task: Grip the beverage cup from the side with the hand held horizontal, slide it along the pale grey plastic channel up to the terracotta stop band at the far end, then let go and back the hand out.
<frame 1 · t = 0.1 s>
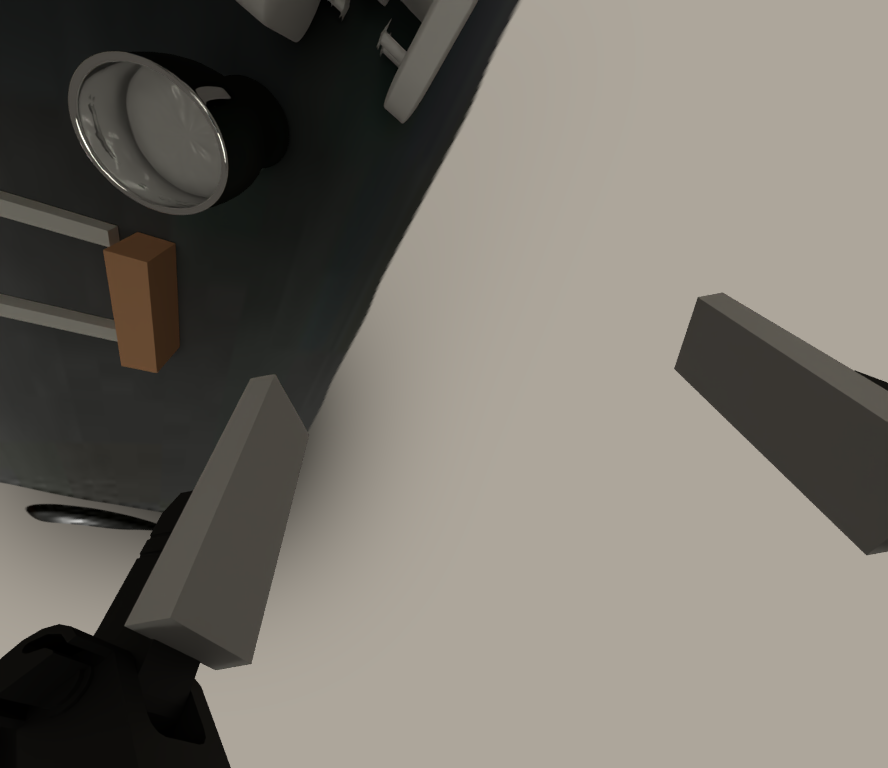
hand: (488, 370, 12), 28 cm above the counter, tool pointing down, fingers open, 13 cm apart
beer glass: (250, 124, 29), on the counter
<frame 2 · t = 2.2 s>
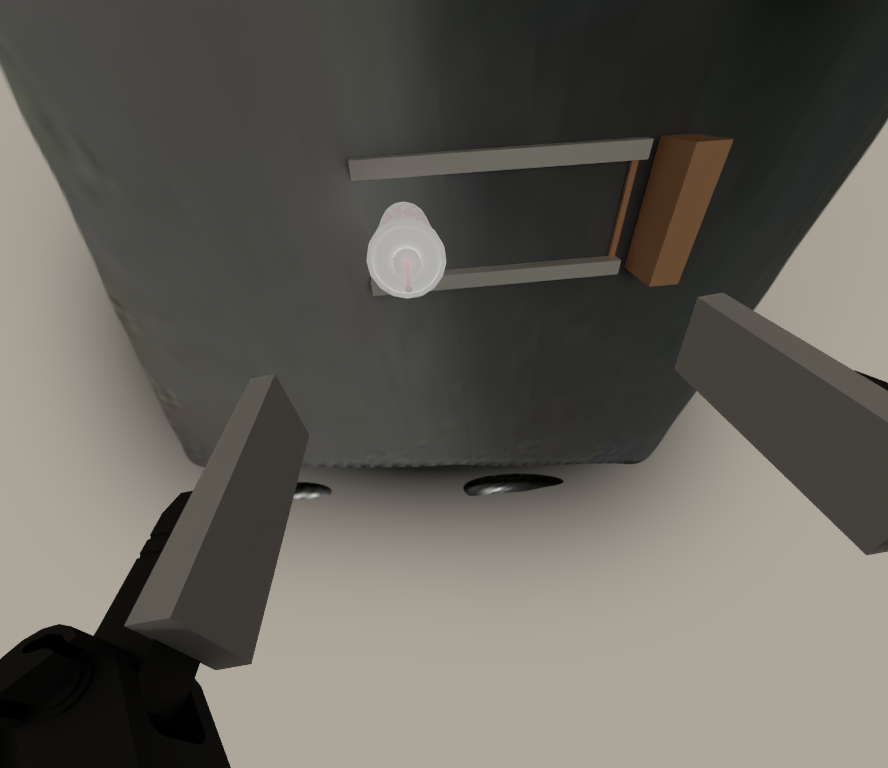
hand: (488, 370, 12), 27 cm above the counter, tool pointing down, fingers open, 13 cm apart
beverage cup: (404, 227, 35), on the counter
channel: (496, 220, 35), on the counter
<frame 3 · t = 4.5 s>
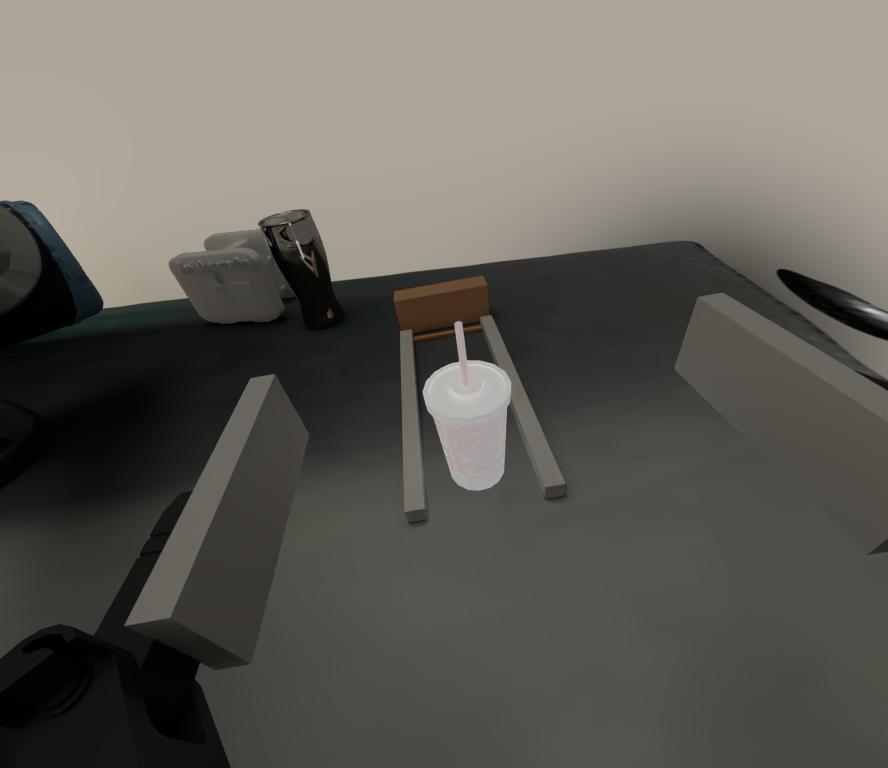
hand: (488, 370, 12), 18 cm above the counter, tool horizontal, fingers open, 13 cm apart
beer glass: (325, 320, 55), on the counter
beverage cup: (477, 468, 31), on the counter
channel: (461, 397, 37), on the counter
cable organizer: (260, 311, 62), on the counter
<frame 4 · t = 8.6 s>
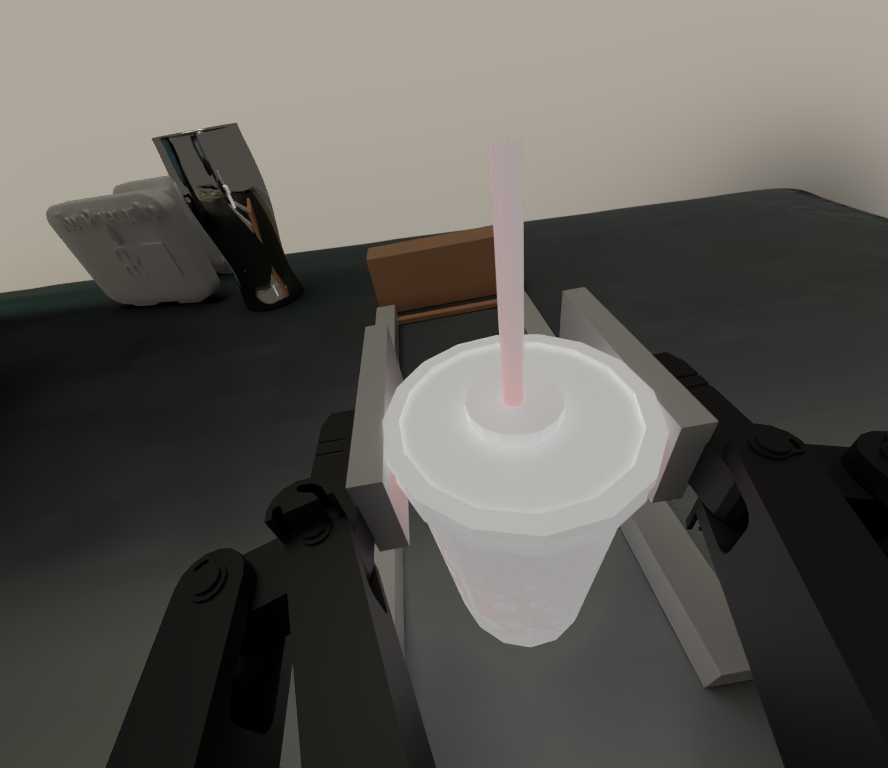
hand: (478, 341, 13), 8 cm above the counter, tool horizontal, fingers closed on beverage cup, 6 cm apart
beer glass: (276, 299, 39), on the counter
beverage cup: (518, 577, 14), on the counter, touching gripper
channel: (476, 414, 21), on the counter
cable organizer: (194, 290, 45), on the counter
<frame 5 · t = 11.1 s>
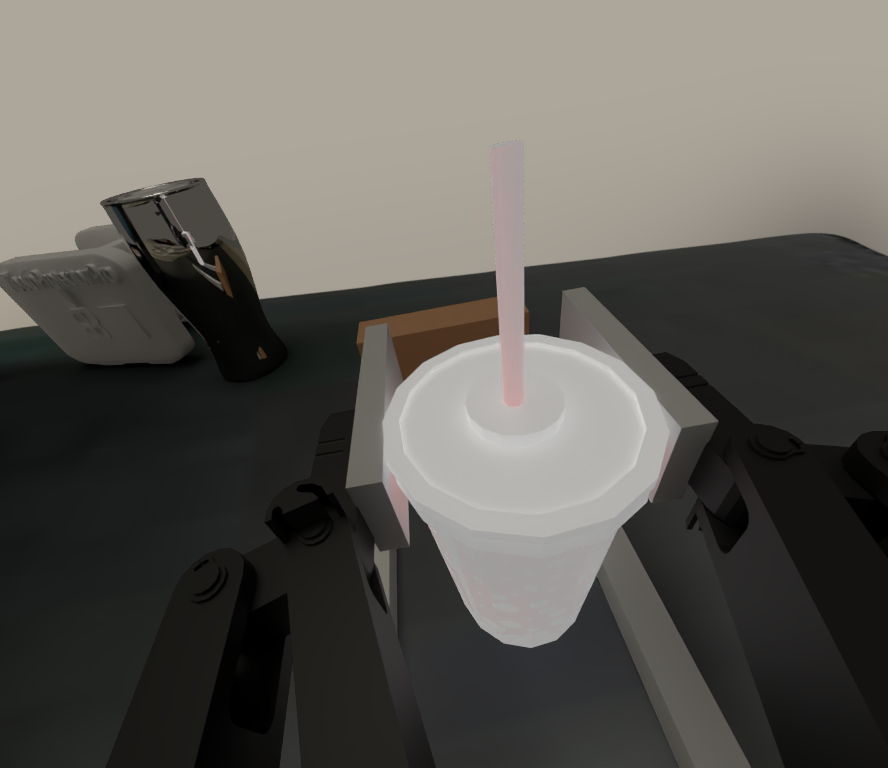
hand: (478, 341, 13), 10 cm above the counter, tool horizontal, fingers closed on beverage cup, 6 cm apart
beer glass: (257, 364, 35), on the counter
beverage cup: (519, 577, 14), point 3 cm above the counter, touching gripper
channel: (493, 579, 16), on the counter
cable organizer: (168, 344, 41), on the counter
when the fingers open (8 cm above the counter, at t = 13.8 s): beverage cup stays where it is, on the counter.
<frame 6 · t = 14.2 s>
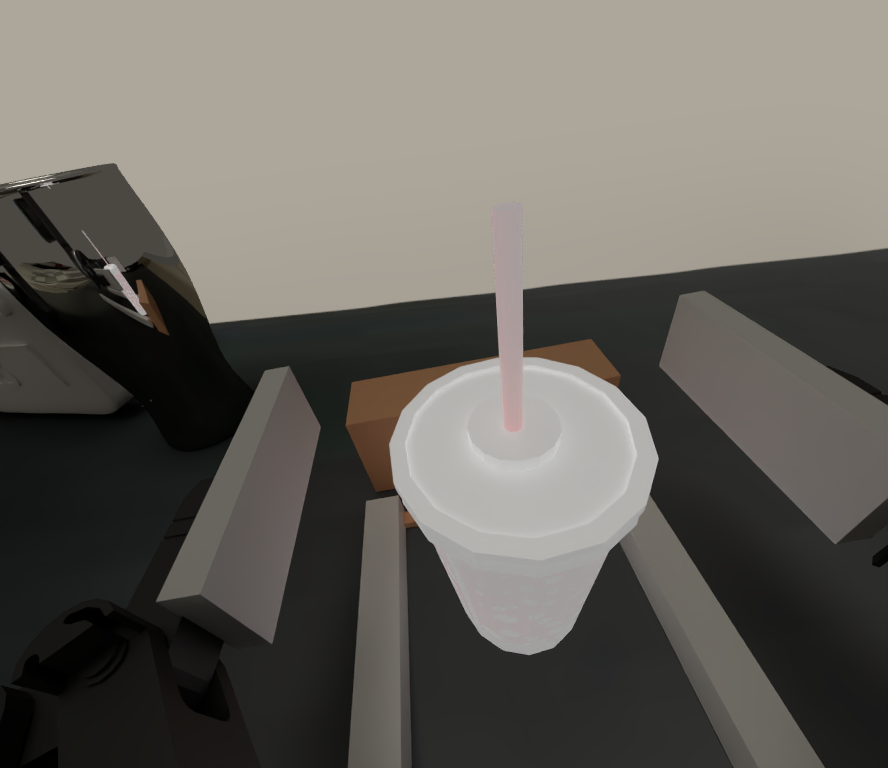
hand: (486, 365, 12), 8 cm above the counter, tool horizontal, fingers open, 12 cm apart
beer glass: (216, 419, 26), on the counter
beverage cup: (518, 586, 14), on the counter
cable organizer: (112, 382, 32), on the counter
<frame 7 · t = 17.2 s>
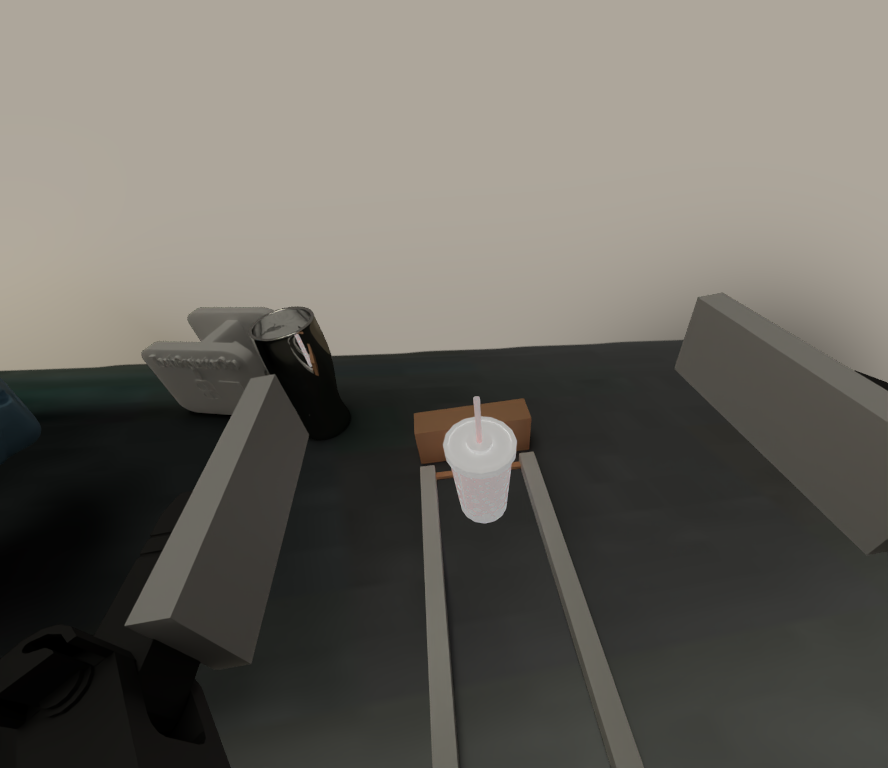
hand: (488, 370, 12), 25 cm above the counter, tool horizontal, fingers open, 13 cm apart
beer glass: (328, 423, 47), on the counter
beverage cup: (483, 502, 36), on the counter
channel: (502, 601, 29), on the counter
cable organizer: (252, 395, 53), on the counter
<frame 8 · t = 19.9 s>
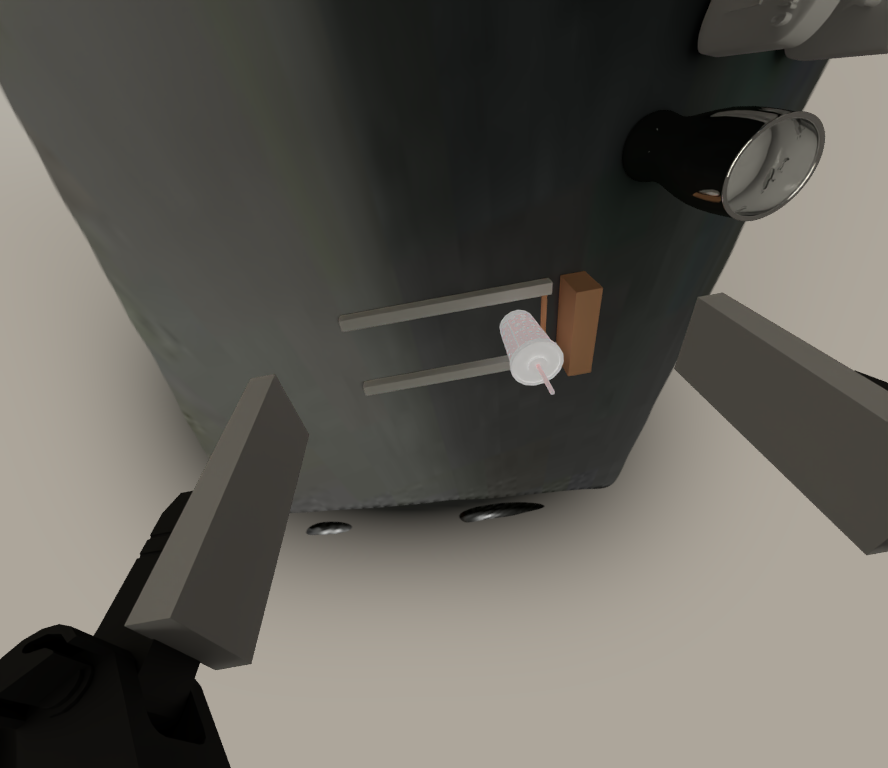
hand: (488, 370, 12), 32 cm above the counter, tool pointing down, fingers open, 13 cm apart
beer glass: (650, 147, 37), on the counter
beverage cup: (516, 324, 48), on the counter
channel: (450, 337, 48), on the counter
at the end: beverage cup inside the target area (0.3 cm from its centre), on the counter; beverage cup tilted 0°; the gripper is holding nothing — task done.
